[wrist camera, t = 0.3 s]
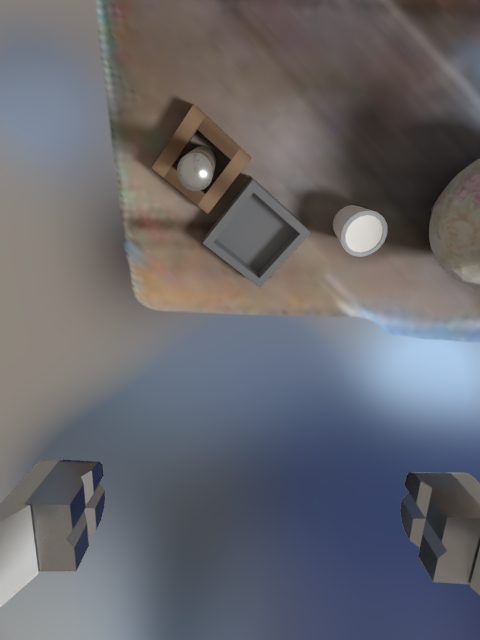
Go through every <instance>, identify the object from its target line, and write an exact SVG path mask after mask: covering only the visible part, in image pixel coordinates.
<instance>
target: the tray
mask: <svg viewBox="0 0 480 640" xmlns="http://www.w3.org/2000/svg"><path fill="white" fill-rule="evenodd" d="M310 234H311V232H310V231H309V229H308V228H307V227H306V226H305V225H304V224H303V223H302V222H301V221H299V220H298V219H297V218H296V217H295V216H294V215H293V214H292V213H291V212H290V211H288V210H287V209H286V208H285V207H284V206H283V205H282V204H281V203H280V202H279V201H277V200H276V199H275V198H274V197H273V196H272V195H271V194H270V193H269V192H268V191H266V190H265V189H264V188H263V187H262V186H261V185H260V184H259V183H258V182H257V181H255V180H254V179H253V178H252V177H251V178H250V179H249V180H248V182H247V183H246V184H245V186H244V187H243V188H242V189H241V191H240V192H239V193H238V194H237V196H236V197H235V198H234V199H233V201H232V202H231V203H230V205H229V206H228V207H227V208H226V210H225V211H224V212H223V213H222V215H221V216H220V217H219V218H218V220H217V221H216V222H215V224H214V225H213V226H212V227H211V229H210V230H209V231H208V232H207V234H206V235H205V236H204V239H203V244H204V245H205V246H207V247H208V248H209V249H210V250H212V251H213V252H214V253H216V254H217V255H218V256H220V257H221V258H222V259H223V260H225V261H226V262H227V263H229V264H230V265H231V266H232V267H234V268H235V269H236V270H238V271H239V272H240V273H241V274H243V275H244V276H245V277H247V278H248V279H249V280H251V281H252V282H253V283H254V284H256V285H257V286H258V287H261V286H262V285H263V284H264V283H265V282H266V281H267V280H268V279H269V278H270V276H271V275H272V274H273V273H274V272H275V271H276V270H277V269H278V268H279V267H280V266H281V265H282V264H283V263H284V261H285V260H286V259H287V258H288V257H289V256H290V255H291V254H292V253H293V252H294V251H295V250H296V249H297V247H298V246H299V245H300V244H301V243H302V242H303V241H304V240H305V239H306V238H307V237H308V236H309V235H310Z"/></svg>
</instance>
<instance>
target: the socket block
mask: <svg viewBox="0 0 480 640" xmlns="http://www.w3.org/2000/svg"><path fill="white" fill-rule="evenodd" d="M197 130H199V131H200V132H201V133H202V134H203V135H204V136H205V137H206V138H207V139H208V140H210V141H211V142H212V143H213V144H214V145H215V146H216V147H217V148H218V149H220V150H221V151H222V152H223V153H224V154H225V155H226V156H227V157H228V158H229V159H230V160H229V162H228V163H227V164H226V166H225V167H224V168H223V170H222V171H221V172H220V174H219V175H218V176H217V178H216V179H215V180H214V182H213V183H212V184H211V186H210V187H209V188H208V190H207V191H206V190H205V189H203V190H200V191H192V190H189V189H187V188H185V187H184V186H183V185H182V184H181V182H180V180H179V178H178V175H177V166H176V165H175V162H176V161H177V159H178V158H179V156H180V155H181V153H182V152H183V151H184V149H185V148H186V146H187V145H188V143H189V142H190V140H191V139H192V137H193V136H194V134H195V133H196V131H197ZM250 159H251V157H250V156H249V155H248V154H247V153H246V152H245V151H244V150H243V149H242V148H240V147H239V146H238V145H237V144H236V143H235V142H234V141H233V140H232V139H231V138H230V137H229V136H228V135H227V134H225V133H224V132H223V131H222V130H221V129H220V128H219V127H218V126H217V125H216V124H215V123H214V122H213V121H212V120H210V119H209V118H208V117H207V116H206V115H205V114H204V113H203V112H202V111H201V110H200V109H199V108H198V107H197V106H195V105H194V104H193V106H192V107H191V109H190V110H189V112H188V113H187V115H186V117H185V118H184V120H183V121H182V123H181V124H180V126H179V127H178V129H177V130H176V132H175V133H174V135H173V136H172V138H171V139H170V141H169V142H168V144H167V145H166V147H165V148H164V150H163V152H162V153H161V155H160V156H159V158H158V159H157V161H156V162H155V164H154V165H153V167H152V169H153V170H155V171H156V172H157V173H158V174H159V175H161V176H162V177H163V178H164V179H166V180H167V181H168V182H169V183H170V184H172V185H173V186H174V187H175V188H177V189H178V190H179V191H180V192H182V193H183V194H184V195H185V196H186V197H188V198H189V199H190V200H191V201H193V202H194V203H195V204H196V205H197V206H199V207H200V208H201V209H202V210H204V211H205V212H206V213H207V214H208V213H209V212H210V211H211V210H212V208H213V207H214V206H215V204H216V203H217V202H218V201H219V199H220V198H221V197H222V195H223V194H224V193H225V191H226V190H227V189H228V188H229V186H230V185H231V184H232V182H233V181H234V180H235V178H236V177H237V176H238V175H239V173H240V172H241V171H242V169H243V168H244V167H245V166H246V164H247V163H248V162H249V160H250Z"/></svg>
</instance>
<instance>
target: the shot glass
mask: <svg viewBox="0 0 480 640" xmlns="http://www.w3.org/2000/svg"><path fill="white" fill-rule="evenodd" d="M333 230H334V232H335V234H336V236H337V238H338V239H339V241H340V243H341V244H342V246H343V248H344V249H345V251H346V252H348V253H349V254H351V255H353V256H358V257H362V256H367V255H370V254H372V253H373V252H375V251H377V250H378V249H379V248H380V247H381V245H382V244H383V243H384V241H385V238H386V236H387V223H386V221H385V219H384V217H383V216H382V215H380V214H379V213H378V212H375V211H372V210H369V209H366V208H363V207H359V206H355V205H350V206H345V207H344V208H342V209H341V210H339V211H338V213H337V214H336V215H335V217H334V220H333Z"/></svg>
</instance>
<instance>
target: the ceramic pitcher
mask: <svg viewBox="0 0 480 640" xmlns="http://www.w3.org/2000/svg"><path fill="white" fill-rule="evenodd" d="M431 213H432V216H431V219H430V225H429V240H430V246H431V249H432V251H433V254H434V256H435V258H436V260H437V261H438V263H439V264H440V266H441V267H442V268H443V269H444V270H445V271H446V272H447V273H448V274H450V275H451V276H452V277H454V278H455V279H457V280H459V281H460V282H462V283H464V284H467V285H469V286H471V287H472V288H474V289H475V290H477V291H479V292H480V158H479V159H477V160H476V161H474V162H473V163H472V164H470V165H469V166H467V167H466V168H465V169H463V170H462V171H461V172H459V173H458V174H457V175H456V176H455V177H454V178H453V179H452V180H451V182H450V183H449V184H448V185H447V187H446V188H445V189H444V190H443V191H442V193H441V194H440V195H439V197H438V198H437V200H436V202H435V203H434V205H433V207H432V208H431Z"/></svg>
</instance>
